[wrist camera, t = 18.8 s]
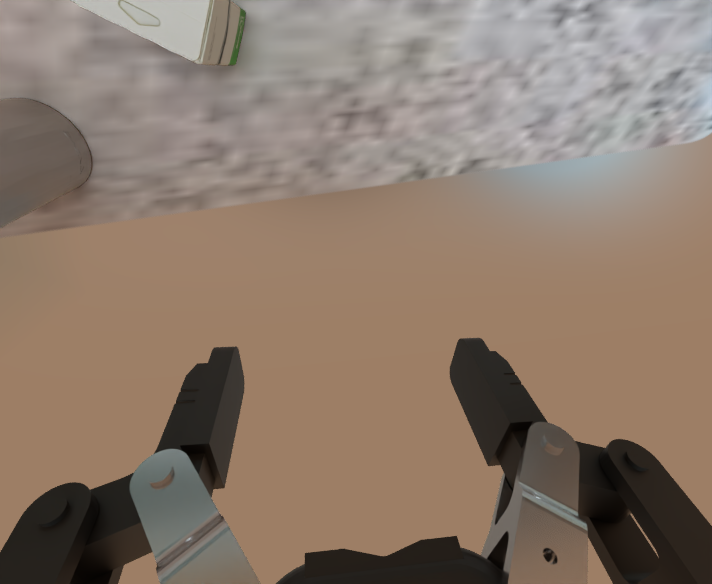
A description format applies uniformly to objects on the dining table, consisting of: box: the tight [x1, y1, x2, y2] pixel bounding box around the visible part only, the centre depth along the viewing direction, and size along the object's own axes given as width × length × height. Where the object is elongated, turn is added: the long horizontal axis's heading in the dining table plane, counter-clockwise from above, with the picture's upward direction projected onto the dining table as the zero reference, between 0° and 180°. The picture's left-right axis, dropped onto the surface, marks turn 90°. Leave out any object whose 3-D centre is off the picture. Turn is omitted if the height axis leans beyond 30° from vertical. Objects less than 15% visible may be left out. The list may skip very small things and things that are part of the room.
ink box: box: [71, 0, 246, 65], centre depth 26 cm, size 9×5×12 cm, turn 65°
